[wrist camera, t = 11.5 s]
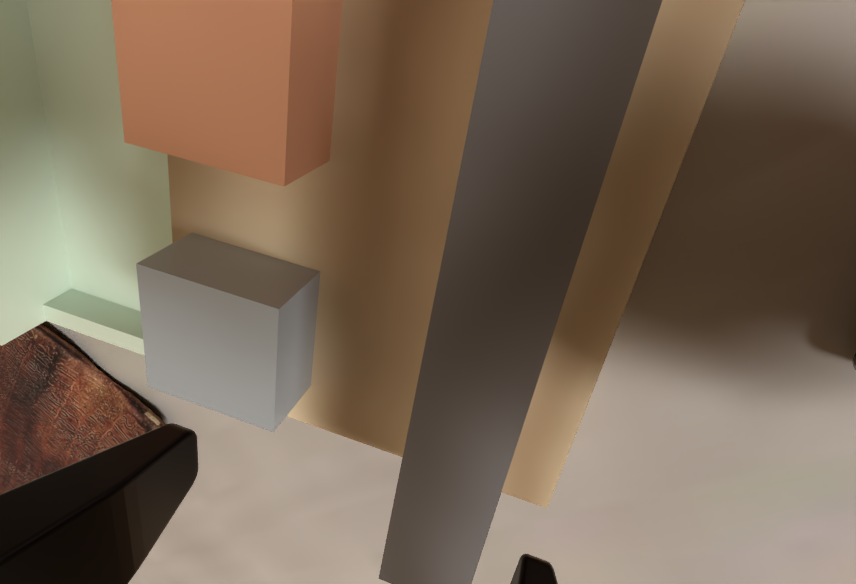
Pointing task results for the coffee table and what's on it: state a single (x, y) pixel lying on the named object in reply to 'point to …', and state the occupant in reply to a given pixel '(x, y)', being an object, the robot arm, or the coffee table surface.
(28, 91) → the tray
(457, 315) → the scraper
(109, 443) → the wooden tablet
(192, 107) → the terracotta tile
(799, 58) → the coffee table surface
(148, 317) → the grey square block
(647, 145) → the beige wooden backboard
